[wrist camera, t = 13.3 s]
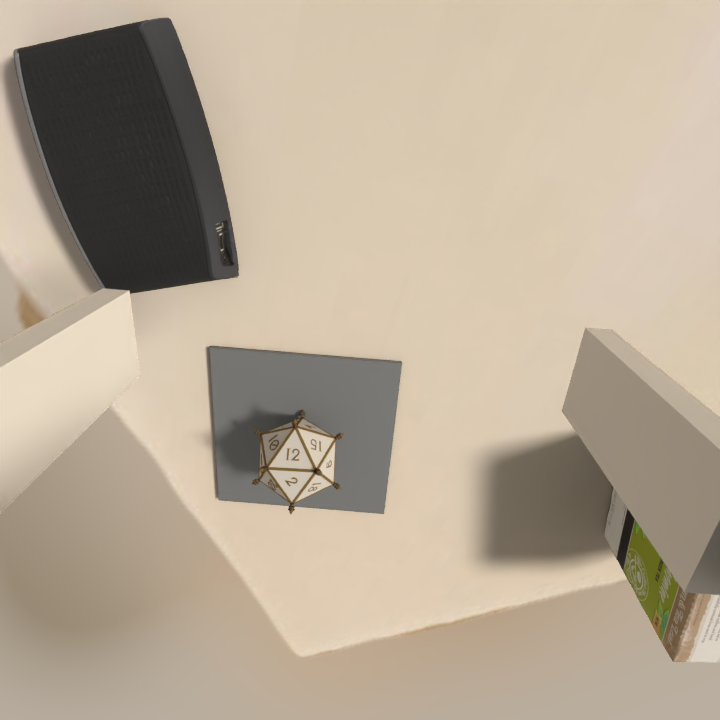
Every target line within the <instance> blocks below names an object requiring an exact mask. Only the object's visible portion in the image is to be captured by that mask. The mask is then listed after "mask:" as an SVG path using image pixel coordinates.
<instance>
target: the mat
mask: <svg viewBox="0 0 720 720" xmlns="http://www.w3.org/2000/svg"><path fill="white" fill-rule="evenodd" d="M210 364H211V380H212V397H213V414H214V431H215V448H216V465H217V481H218V498H219V500H222V501H234V502H246V503H258V504H270V505H282V506H290V503H289V502H287V501H286V500H285V499H283V498H282V497H281V496H279V495H278V494H277V493H275V492H274V491H273V490H271V489H270V488H269V487H267V486H266V485H264V484H263V483H262V482H259V484H256V485H252V482H253V480H255V479H258V478H259V451H260V436H259V435H257V434H255V433H254V430H253V429H258V430H261V432H262V433H263V432H266V431H268V430H271V429H273V428H276V427H278V426H281V425H284V424H286V423H289V422H291V421H293V420H294V419H299V418H301V417H300V412H302V410H304V412H305V413H306V414H305V417H304V419H306V420H308V421H309V422H311V423H313V424H314V425H316V426H318V427H319V428H321V429H323V430H324V431H326V432H328V433H329V434H331V435H332V436H334V437H335V436H336V434H339V433H342V434H344V435H343V436H342V438H340V439H337V440H336V457H335V480H334V482H335V483H338V484H340V487H341V489H337V490H336V488H334V486H333V485H332V486H330V487H328V488H326V489H324V490H322V491H320V492H317V493H315V494H313V495H311V496H309V497H307V498H305V499H303V500H301V501H299V502H297V503H295V504H294V507H306V508H319V509H331V510H343V511H355V512H367V513H379V514H384V508H385V500H386V492H387V483H388V475H389V467H390V458H391V450H392V442H393V433H394V425H395V417H396V408H397V400H398V392H399V383H400V375H401V366H402V361H390V360H378V359H365V358H353V357H341V356H329V355H316V354H304V353H292V352H280V351H268V350H255V349H243V348H231V347H219V346H211V347H210Z"/></svg>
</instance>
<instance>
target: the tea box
mask: <svg viewBox="0 0 720 720" xmlns="http://www.w3.org/2000/svg"><path fill="white" fill-rule="evenodd" d="M604 536H605V538H606V540H607V542H608V544H609V546H610V548H611V550H612V551H613V553H614V555H615V557H616V558H617V560H618V562H619V564H620V566H621V568H622V570H623V572H624V574H625V575H626V577H627V579H628V581H629V583H630V584H631V585H632V588H633V589H634V591H635V593H636V595H637V598H638V600H639V601H640V603H641V605H642V607H643V609H644V611H645V612H646V614H647V615H648V617H649V619H650V621H651V623H652V625H653V627H654V629H655V631H656V633H657V635H658V636H659V638H660V640H661V642H662V644H663V646H664V647H665V649H666V651H667V652H668V654H669V656H670V657H671V659H672V661H673V662H720V595H712V594H700V593H688V592H684V591H683V590H682V588H681V587H680V585H679V584H678V582H677V581H676V579H675V578H674V576H673V575H672V573H671V572H670V570H669V569H668V567H667V566H666V564H665V563H664V561H663V560H662V559H661V557H660V556H659V554H658V553H657V551H656V550H655V548H654V547H653V545H652V544H651V542H650V541H649V539H648V538H647V536H646V535H645V533H644V532H643V530H642V529H641V527H640V526H639V524H638V523H637V521H636V520H635V519H634V517H633V516H632V514H631V513H630V511H629V510H628V508H627V507H626V505H625V504H624V502H623V501H622V499H621V498H620V496H619V495H618V493H617V492H616V490H615V489H614V488H613V492H612V498H611V505H610V509H609V512H608V517H607V523H606V528H605V533H604Z"/></svg>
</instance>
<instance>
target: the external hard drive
mask: <svg viewBox="0 0 720 720" xmlns="http://www.w3.org/2000/svg"><path fill="white" fill-rule="evenodd" d="M13 54H14V62H15V68H16V73H17V78H18V82H19V86H20V90H21V94H22V99H23V102H24V106H25V110H26V113H27V117H28V121H29V124H30V127H31V130H32V133H33V137H34V140H35V143H36V146H37V149H38V152H39V155H40V158H41V161H42V164H43V167H44V169H45V172H46V175H47V178H48V181H49V183H50V186H51V188H52V191H53V193H54V196H55V198H56V200H57V202H58V205H59V207H60V209H61V212H62V214H63V216H64V219H65V221H66V223H67V225H68V227H69V229H70V231H71V233H72V235H73V237H74V239H75V241H76V243H77V245H78V247H79V249H80V251H81V253H82V255H83V257H84V259H85V260H86V262H87V264H88V265H89V267H90V269H91V271H92V272H93V274H94V276H95V278H96V279H97V281H98V282H99V284H100V285H101V287H102V288H104V289H117V290H129V291H130V294H131V293H137V292H144V291H150V290H157V289H163V288H169V287H175V286H182V285H188V284H194V283H200V282H207V281H213V280H220V279H228V278H234V277H236V278H237V277H238V276H239V274H238V271H239V269H238V259H237V251H236V246H235V240H234V234H233V228H232V223H231V218H230V212H229V208H228V203H227V198H226V194H225V190H224V185H223V181H222V177H221V173H220V168H219V164H218V161H217V156H216V153H215V149H214V146H213V142H212V138H211V135H210V132H209V128H208V125H207V122H206V118H205V115H204V111H203V108H202V105H201V101H200V98H199V95H198V92H197V89H196V86H195V83H194V80H193V77H192V74H191V71H190V68H189V66H188V63H187V60H186V57H185V54H184V52H183V50H182V46H181V44H180V41H179V38H178V36H177V33H176V30H175V28H174V26H173V24H172V21H171V19H169V18H158V19H152V20H145V21H141V22H136V23H132V24H127V25H122V26H117V27H114V28H109V29H104V30H100V31H94V32H90V33H86V34H81V35H76V36H72V37H68V38H64V39H59V40H55V41H51V42H46V43H41V44H37V45H33V46H29V47H23V48H19V49H15V50H14V53H13Z"/></svg>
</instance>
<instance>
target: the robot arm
mask: <svg viewBox="0 0 720 720" xmlns="http://www.w3.org/2000/svg"><path fill="white" fill-rule="evenodd" d="M139 377H140V370H139V362H138V354H137V346H136V338H135V331H134V323H133V315H132V307H131V299H130V291H129V290H117V289H104V288H103V289H101V290H99V291H97V292H95V293H93V294H91V295H90V296H88V297H86V298H84V299H82V300H80V301H78V302H76V303H75V304H73V305H71V306H69V307H67V308H65V309H63V310H61V311H59V312H58V313H56V314H54V315H52V316H50V317H48V318H46V319H44V320H43V321H41V322H39V323H37V324H35V325H33V326H31V327H29V328H27V329H26V330H24V331H22V332H20V333H18V334H16V335H14V336H13V337H11V338H9V339H7V340H5V341H3V342H1V343H0V514H1V513H2V512H3V511H4V510H5V509H6V508H7V507H8V506H9V505H10V504H11V503H12V502H13V501H14V500H15V499H16V498H17V497H18V496H19V495H20V494H21V493H22V492H23V491H24V490H25V489H26V488H27V487H28V486H29V485H30V484H31V483H32V482H33V481H34V480H35V479H36V478H37V477H38V476H39V475H40V474H41V473H42V472H43V471H44V470H45V469H46V468H47V467H48V466H49V465H50V464H51V463H53V462H54V461H55V460H56V459H57V458H58V457H59V456H60V455H61V454H62V453H63V452H64V451H65V450H66V449H67V448H68V447H69V446H70V445H71V444H72V443H73V442H74V441H75V440H76V439H77V438H78V437H79V436H80V435H81V434H82V433H83V432H84V431H85V430H86V429H87V428H88V427H89V426H90V425H91V424H92V423H93V422H94V421H95V420H96V419H97V418H98V417H99V416H100V415H101V414H102V413H103V412H105V411H106V410H107V409H108V408H109V407H110V406H111V405H112V404H113V403H114V402H115V401H116V400H117V399H118V398H119V397H120V396H121V395H122V394H123V393H124V392H125V391H126V390H127V389H128V388H129V387H130V386H131V385H132V384H133V383H134V382H135V381H136V380H137V379H138V378H139ZM562 412H563V413H564V415H565V416H566V418H567V419H568V421H569V422H570V424H571V425H572V427H573V428H574V430H575V431H576V433H577V434H578V436H579V437H580V439H581V440H582V442H583V443H584V445H585V446H586V447H587V449H588V450H589V452H590V453H591V455H592V456H593V458H594V459H595V461H596V462H597V464H598V465H599V467H600V468H601V470H602V471H603V473H604V474H605V476H606V477H607V479H608V480H609V482H610V483H611V484H612V486H613V487H614V489H615V490H616V492H617V493H618V495H619V496H620V498H621V499H622V501H623V502H624V504H625V505H626V507H627V508H628V510H629V511H630V513H631V514H632V516H633V517H634V519H635V520H636V521H637V523H638V524H639V526H640V527H641V529H642V530H643V532H644V533H645V535H646V536H647V538H648V539H649V541H650V542H651V544H652V545H653V547H654V548H655V550H656V551H657V553H658V554H659V556H660V557H661V559H662V560H663V561H664V563H665V564H666V566H667V567H668V569H669V570H670V572H671V573H672V575H673V576H674V578H675V579H676V581H677V582H678V584H679V585H680V587H681V588H682V590H683V591H684V592H688V593H700V594H712V595H720V417H719V416H717V415H716V414H715V413H714V412H713V411H711V410H710V409H709V408H708V407H706V406H705V405H704V404H703V403H701V402H700V401H699V400H698V399H697V398H695V397H694V396H693V395H692V394H690V393H689V392H688V391H687V390H685V389H684V388H683V387H682V386H681V385H679V384H678V383H677V382H676V381H674V380H673V379H672V378H671V377H669V376H668V375H667V374H666V373H665V372H663V371H662V370H661V369H660V368H658V367H657V366H656V365H655V364H653V363H652V362H651V361H650V360H649V359H647V358H646V357H645V356H644V355H642V354H641V353H640V352H639V351H637V350H636V349H635V348H634V347H632V346H631V345H630V344H629V343H628V342H626V341H625V340H624V339H623V338H621V337H620V336H619V335H618V334H616V333H615V332H614V331H613V330H607V329H595V328H585V331H584V334H583V338H582V341H581V345H580V349H579V352H578V356H577V359H576V363H575V366H574V370H573V373H572V377H571V380H570V384H569V388H568V391H567V395H566V398H565V402H564V405H563V409H562Z"/></svg>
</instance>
